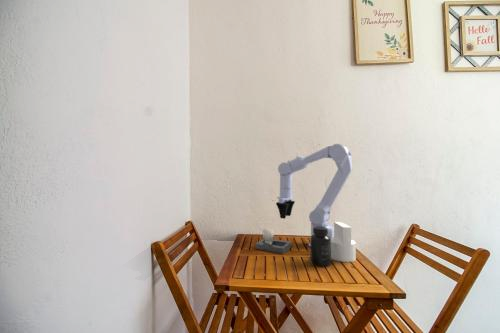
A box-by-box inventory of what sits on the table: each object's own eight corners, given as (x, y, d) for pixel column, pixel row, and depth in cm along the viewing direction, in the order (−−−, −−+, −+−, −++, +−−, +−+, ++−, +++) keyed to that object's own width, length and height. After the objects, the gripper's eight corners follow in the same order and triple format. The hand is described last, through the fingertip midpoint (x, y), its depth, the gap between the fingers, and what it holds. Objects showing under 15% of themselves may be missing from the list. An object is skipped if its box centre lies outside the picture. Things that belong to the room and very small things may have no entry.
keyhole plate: (291, 246, 94) (291, 241, 94) (283, 253, 85) (283, 248, 85) (265, 242, 100) (265, 237, 100) (255, 248, 91) (255, 243, 91)
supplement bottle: (331, 261, 79) (331, 226, 80) (331, 268, 73) (331, 231, 73) (310, 258, 81) (311, 225, 82) (309, 265, 75) (309, 229, 75)
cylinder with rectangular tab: (326, 252, 88) (326, 221, 88) (349, 253, 88) (349, 222, 88) (334, 261, 79) (334, 227, 79) (360, 262, 79) (360, 227, 79)
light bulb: (275, 246, 94) (275, 229, 95) (270, 249, 91) (270, 231, 91) (265, 244, 97) (266, 228, 97) (260, 247, 93) (261, 230, 93)
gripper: (283, 187, 115) (282, 213, 114) (272, 188, 102) (272, 218, 102) (296, 187, 112) (296, 215, 111) (287, 189, 99) (287, 220, 98)
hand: (285, 217), depth 106 cm, fingers open, 7 cm apart
